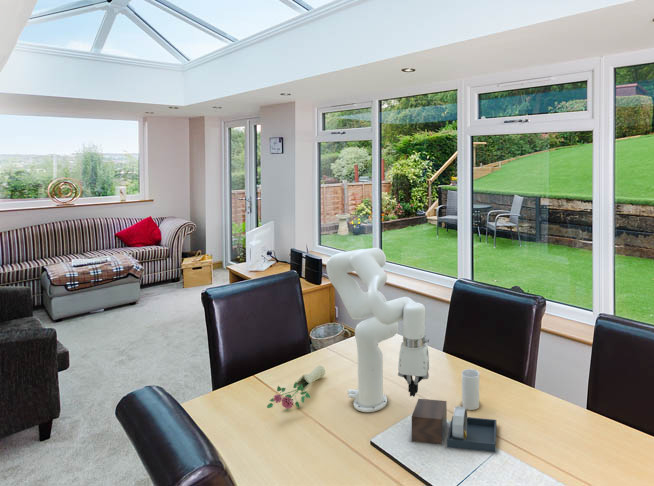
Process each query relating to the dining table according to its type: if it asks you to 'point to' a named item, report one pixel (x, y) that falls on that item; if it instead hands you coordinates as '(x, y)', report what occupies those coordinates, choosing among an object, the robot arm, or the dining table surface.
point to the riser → (429, 421)
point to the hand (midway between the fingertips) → (413, 394)
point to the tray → (476, 435)
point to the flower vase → (298, 388)
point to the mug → (470, 389)
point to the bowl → (459, 422)
